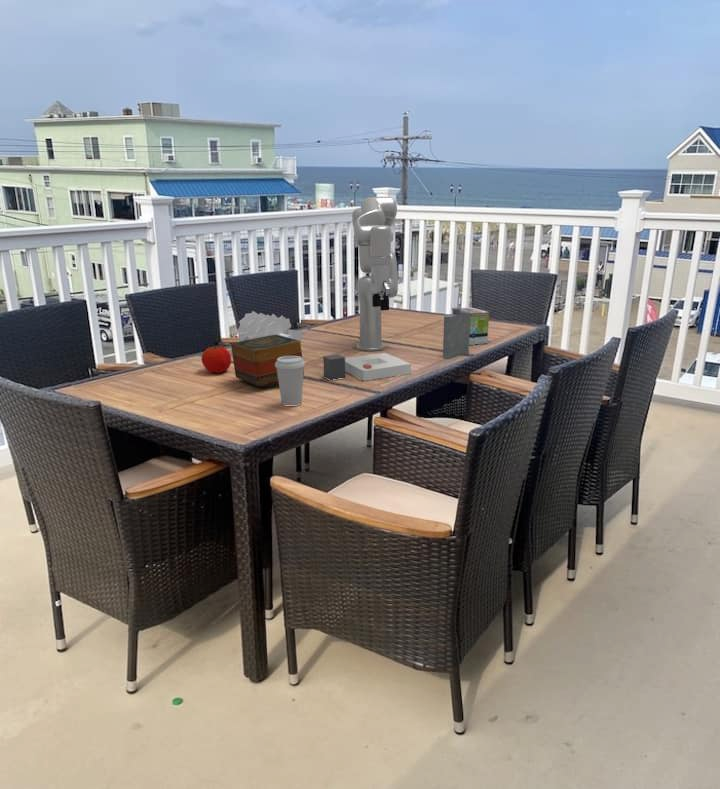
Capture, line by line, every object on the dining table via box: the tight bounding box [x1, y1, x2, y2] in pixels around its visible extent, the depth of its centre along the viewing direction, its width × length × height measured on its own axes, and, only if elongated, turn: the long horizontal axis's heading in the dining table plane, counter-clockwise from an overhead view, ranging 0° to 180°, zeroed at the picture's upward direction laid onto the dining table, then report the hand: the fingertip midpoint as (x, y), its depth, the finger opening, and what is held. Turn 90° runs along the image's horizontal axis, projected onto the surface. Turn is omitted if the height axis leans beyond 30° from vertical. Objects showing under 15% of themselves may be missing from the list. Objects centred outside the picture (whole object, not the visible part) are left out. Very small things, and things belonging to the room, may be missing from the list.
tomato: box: [201, 345, 232, 374], centre depth 234 cm, size 11×13×10 cm
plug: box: [322, 353, 346, 381], centre depth 224 cm, size 6×6×8 cm
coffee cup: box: [275, 356, 306, 405], centre depth 195 cm, size 10×10×15 cm
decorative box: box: [230, 335, 305, 388], centre depth 219 cm, size 20×22×16 cm
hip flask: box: [442, 307, 470, 360], centre depth 253 cm, size 16×4×20 cm, turn 136°
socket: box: [345, 352, 412, 381], centre depth 232 cm, size 20×20×5 cm
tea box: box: [460, 306, 490, 346], centre depth 278 cm, size 15×10×15 cm
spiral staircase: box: [236, 310, 304, 343], centre depth 258 cm, size 18×18×25 cm
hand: (380, 308), depth 227 cm, fingers open, 9 cm apart
